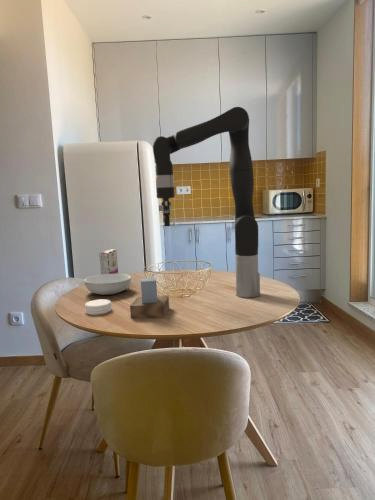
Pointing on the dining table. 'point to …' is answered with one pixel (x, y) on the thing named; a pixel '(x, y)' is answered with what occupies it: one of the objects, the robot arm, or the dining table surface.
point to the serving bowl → (107, 283)
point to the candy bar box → (108, 262)
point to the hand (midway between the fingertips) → (167, 225)
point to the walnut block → (150, 308)
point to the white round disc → (98, 307)
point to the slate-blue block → (149, 290)
